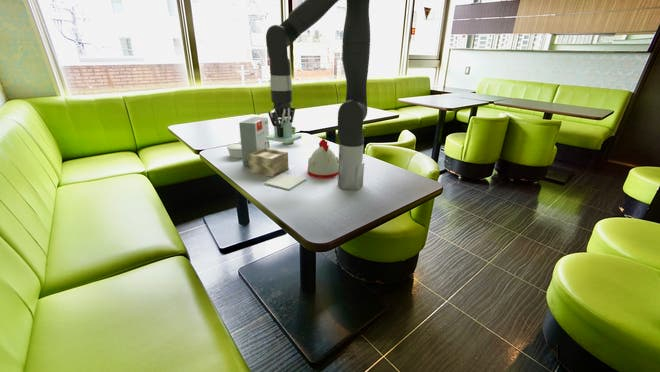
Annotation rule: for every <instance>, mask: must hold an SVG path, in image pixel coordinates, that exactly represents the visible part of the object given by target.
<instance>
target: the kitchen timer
mask: <svg viewBox="0 0 660 372" xmlns="http://www.w3.org/2000/svg"><path fill="white" fill-rule="evenodd" d="M318 146H319V147H318V148H316V149H315V150H314V151H313V152H312V154H311V156H310V157H308V162H307V164H308V166H307V175H308V176H310V177H312V178H315V179H322V180H323V179H324V180H325V179H331V178H332V179H333V178H336V177H338V167H339V156H336V154H335V153H334V152H333V151H332V150H331V148H329V147H330V145H329V144H328V140H327V141H326V139H325V138H322V139H321V140H320V142H318Z"/></svg>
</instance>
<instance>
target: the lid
mask: <svg viewBox="0 0 660 372" xmlns="http://www.w3.org/2000/svg"><path fill="white" fill-rule="evenodd" d="M275 123H276V122H275ZM279 124H280V121H279ZM292 124H293V122H292V123H286V122H283V127H282V128H283V137H282V138H281V137H278V135H277V127H275V126H273V129H274V130H273V131H274V133H272V134H269V136H266V137H265V139H266V140H269V141H274V142H279V143H283V144H285V143H290V142H293V141H294V142H295V141H298V140H301V139H302V135H300V134H292V127H293V125H292Z"/></svg>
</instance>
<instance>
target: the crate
mask: <svg viewBox="0 0 660 372" xmlns="http://www.w3.org/2000/svg"><path fill="white" fill-rule="evenodd" d="M248 159H249V166H248V170H249V172H250V173H254V174H259V175H263V176H268V177H271V178H274V177H276V176H278V175H280V174H282V173H285V172H286V171H288V170H289V152H288V151H284V150H278V149H274V148H273V149H272V148H270V149H268V148H263V149H260V150H258V151H255V152H252V153H250V154H248Z"/></svg>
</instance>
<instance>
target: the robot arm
mask: <svg viewBox="0 0 660 372" xmlns="http://www.w3.org/2000/svg"><path fill="white" fill-rule="evenodd" d="M339 1H340V0H303V1H302V2H301V3H300V4H299V5H297V6H296V7H295V8H294V9H293V10H291V12H290V13H289V14H288V17H287V18H286V19H285V20H284V21H283V22H281V24H272V25H271V26H270V27H268V28H267V30H266V34H265V41H266V43H265V44H266V49H267V54H268V58H269V70H270V72H269V73H270V80H269V81H270V82H269V84H270V95H271V96H270V97H271V98H270V99H271V103H273V107H272V110H270V111H268V116H269V117H268V118H269V119H270V122H271V124H272V127H274V126H275V127H277V135H278V137H281V138H282V137H283V128H282V127H283V122H286V123H292V124H293V122H294V121H293V120H294V116H295V111H296V107H293V106H291V103H292V102H293V85H292V84H293V83H292V82H293V81H292V75H291V61H290V59H289V56H288V47H289V46H291V45H292V44H293V43H294V42H295V41H296V40H297V39H298V38H299V37H300V36H301V35H302V34H303V33H305V32H306V31H307V30H309V29H310V28H311V27H312V26H313V25H315V24H316V23H317V22H318V21H319V20H321V19H322V18H323V17H324V16H325V15H326V14H327V13H328V11H330V10H331V8H333V6H334V5H336V4H337V3H338V2H339ZM370 22H371V21H370V0H346V12H345V19H344V24H343V25H344V26H343V33H342V45H341V47H342V49H341V51H342V54H341V56H342V57H341V58H342V60H341V61H342V67H343V72H344V76H345V81H346V93H345V102H343V103H342V104H340V106H339V108H338V111H337V136H338V160H339V164H338V165H339V167H338V175H337V177H338V178H337V185H338V187H339V188H341V189H344V190H350V191H353V190H355V191H358V190H359V189H360V188H361V187H362V186H364V173H365V162H363V161H364V160H363V159H364V143H365V136H364V135H363V134H364V133H363V129H364V127H363V126H364V125H363V124H364V121H365V119H366V117H367V115H368V97H367V93H368V92H367V84H368V83H367V81H368V75H369V73H368V72H369V64H370V52H371V51H370V50H371V23H370ZM275 122H276V123H275ZM279 122H280V124H279Z"/></svg>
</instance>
